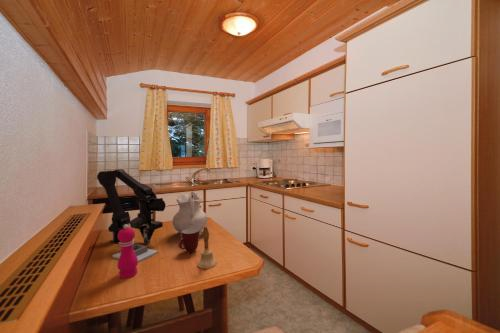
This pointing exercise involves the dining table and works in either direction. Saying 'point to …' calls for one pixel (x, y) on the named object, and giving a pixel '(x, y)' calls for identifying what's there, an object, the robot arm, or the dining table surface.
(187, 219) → the ceramic pitcher
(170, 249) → the dining table surface
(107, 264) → the dining table surface
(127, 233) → the pepper mill
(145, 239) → the pin
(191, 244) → the mug
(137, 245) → the grey plate with socket
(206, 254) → the hand bell
